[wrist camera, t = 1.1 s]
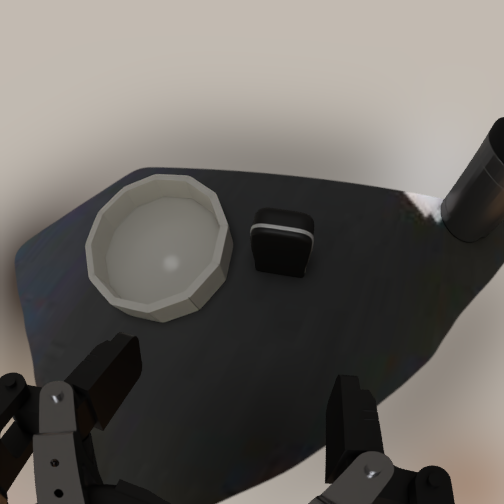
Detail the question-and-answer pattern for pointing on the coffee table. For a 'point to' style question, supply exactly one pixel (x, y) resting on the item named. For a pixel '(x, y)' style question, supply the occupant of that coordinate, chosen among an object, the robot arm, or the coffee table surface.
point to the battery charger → (282, 241)
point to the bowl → (160, 247)
